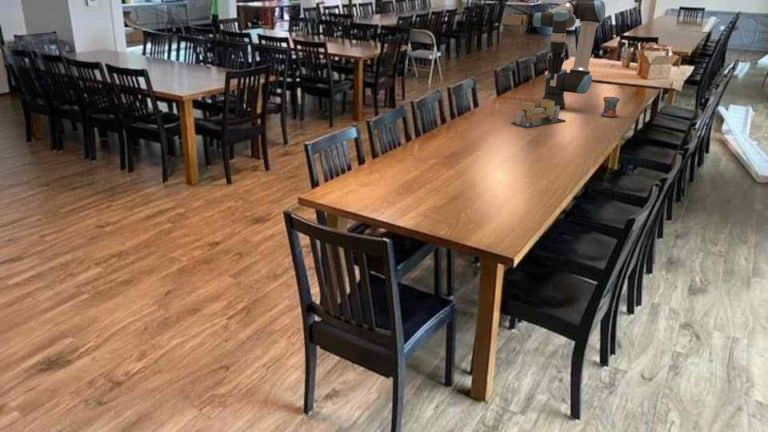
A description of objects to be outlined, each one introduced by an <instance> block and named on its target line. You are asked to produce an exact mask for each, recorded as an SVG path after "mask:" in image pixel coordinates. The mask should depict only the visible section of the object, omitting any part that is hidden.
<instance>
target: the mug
mask: <svg viewBox="0 0 768 432" xmlns="http://www.w3.org/2000/svg"><path fill="white" fill-rule="evenodd" d="M602 98H603V99H602V100H603V102H604V103H603V104H604V106H603V110H602V112H601V115H602V116H604V117H607V118H615V117H617V107H618V104H619V102H620V100H621V98H620V97H616V96H604V97H602Z"/></svg>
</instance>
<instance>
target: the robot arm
mask: <svg viewBox="0 0 768 432" xmlns="http://www.w3.org/2000/svg"><path fill="white" fill-rule="evenodd" d="M605 17H606V3H605V2H604V0H567V1H564V2H562V3H560V4H559V5H558V6H556V7H554V8H552V9H550V10H547V11H545V12H542V11H541V12H540V11H539V12H535V13H534V16H533V19H532V20H533V21H532V23H533V26H534V27H538V28H552V29H551V34H550V35H551V38H550V40H551V41H550V45H549V48H550V52H549V54H546V59H547V72H546V76H545V82H544V83H545V85H544V95H543V96H542V99H541V101H542V100H544V99H549V100H553V101H555V103H554V105H558V106H560V110H561V111H562V110H564V109H565V110H566V103H565V97H564V96H565V93H572V94H577V95H581V94H582V95H583V94H586V93H588V91H589V90H590V88H591V85H592V83H593V82H592V81H593V76H592V74H591V71H590V69H589V66H590V61H591V55H592V50H593V45H594V41H595V37H596V36H595V35H596V30H597V27H599V25H600V24H601V22H603V21H604V20H605ZM577 20H578V21H579V22H578V23H579V24H580V32H579V37H578V41H577V47H576V52H575V56H574V62H573V67H571V68H570V69H569V71H568V70H567V69H566V68H563V66H564V61H565V58H566V56H567V53H566V54H565V53H564V50H565V46H566V38H567V30H568V29H571V28H573V27H574V26H575V25H576V23H577ZM539 108H541V102H540V105H539ZM560 110H559V111H560Z"/></svg>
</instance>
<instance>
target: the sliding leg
mask: <svg viewBox="0 0 768 432" xmlns="http://www.w3.org/2000/svg"><path fill="white" fill-rule="evenodd" d="M540 103H541V107H540V108H542V107H546V111H545V112H539V115H540V116H544V117H547V116H548V117H550V120H552V117H553V115H552V114H553V110H552V108H553V107H554V103H555V101H553V100H549V99H544V100H542V99H541V101H540Z"/></svg>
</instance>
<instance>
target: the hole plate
mask: <svg viewBox="0 0 768 432" xmlns="http://www.w3.org/2000/svg"><path fill="white" fill-rule="evenodd" d="M533 118H534V117H533ZM566 121H567V120H566V119H563V118H557V119H555V118H552V120H550V117H548V116H547V117H546V116H542V117H536V118H534V120H532V124H531V123H530V120H526V119H523V123H522V124H520V125H519V124H516V120H514V121H511V123H510V124H511V125H514V126H517V127H521V128H524V129H531V128H538V127H543V126H549V125H556V124H560V123H561V124H562V123H566Z"/></svg>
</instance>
